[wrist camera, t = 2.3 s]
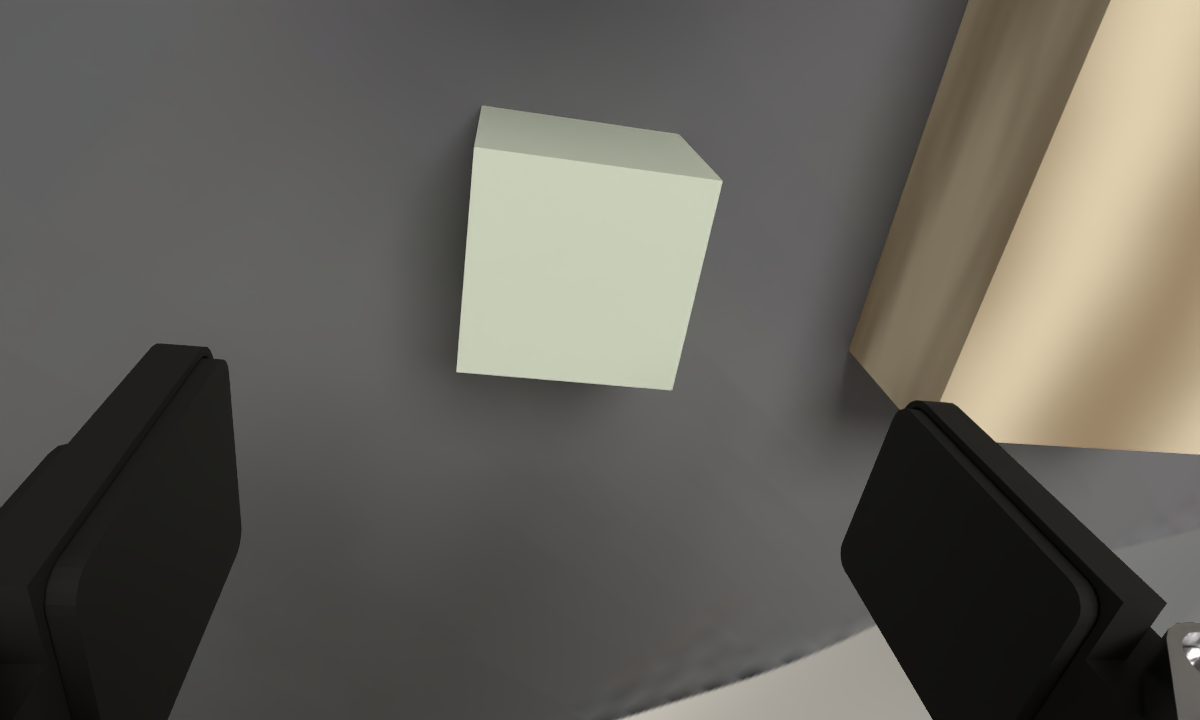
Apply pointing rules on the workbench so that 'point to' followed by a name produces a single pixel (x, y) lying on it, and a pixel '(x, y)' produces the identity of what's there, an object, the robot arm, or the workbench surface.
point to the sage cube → (581, 250)
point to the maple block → (1053, 231)
